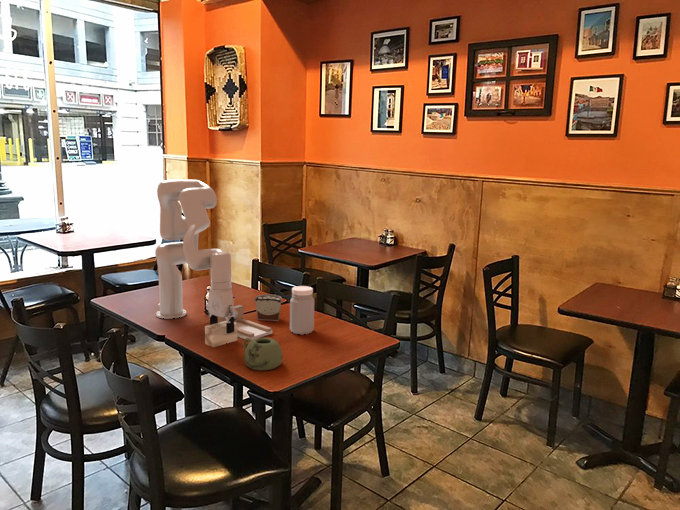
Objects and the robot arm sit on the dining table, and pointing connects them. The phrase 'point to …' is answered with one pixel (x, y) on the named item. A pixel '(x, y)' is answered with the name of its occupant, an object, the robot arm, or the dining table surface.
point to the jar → (302, 310)
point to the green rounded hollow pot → (262, 353)
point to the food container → (268, 307)
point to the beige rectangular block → (219, 334)
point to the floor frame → (248, 326)
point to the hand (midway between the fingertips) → (222, 329)
